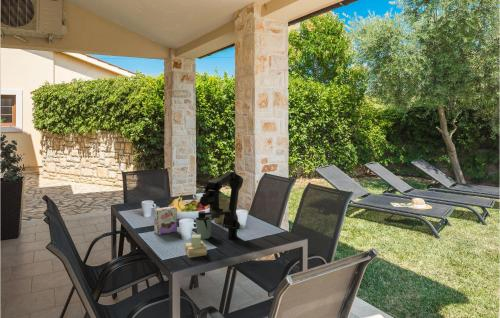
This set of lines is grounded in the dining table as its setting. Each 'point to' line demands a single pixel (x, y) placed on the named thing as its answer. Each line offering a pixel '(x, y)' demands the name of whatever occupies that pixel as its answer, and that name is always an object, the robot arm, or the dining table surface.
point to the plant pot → (222, 205)
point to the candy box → (165, 220)
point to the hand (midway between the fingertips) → (214, 228)
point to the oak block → (195, 250)
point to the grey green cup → (203, 227)
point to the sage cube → (196, 240)
